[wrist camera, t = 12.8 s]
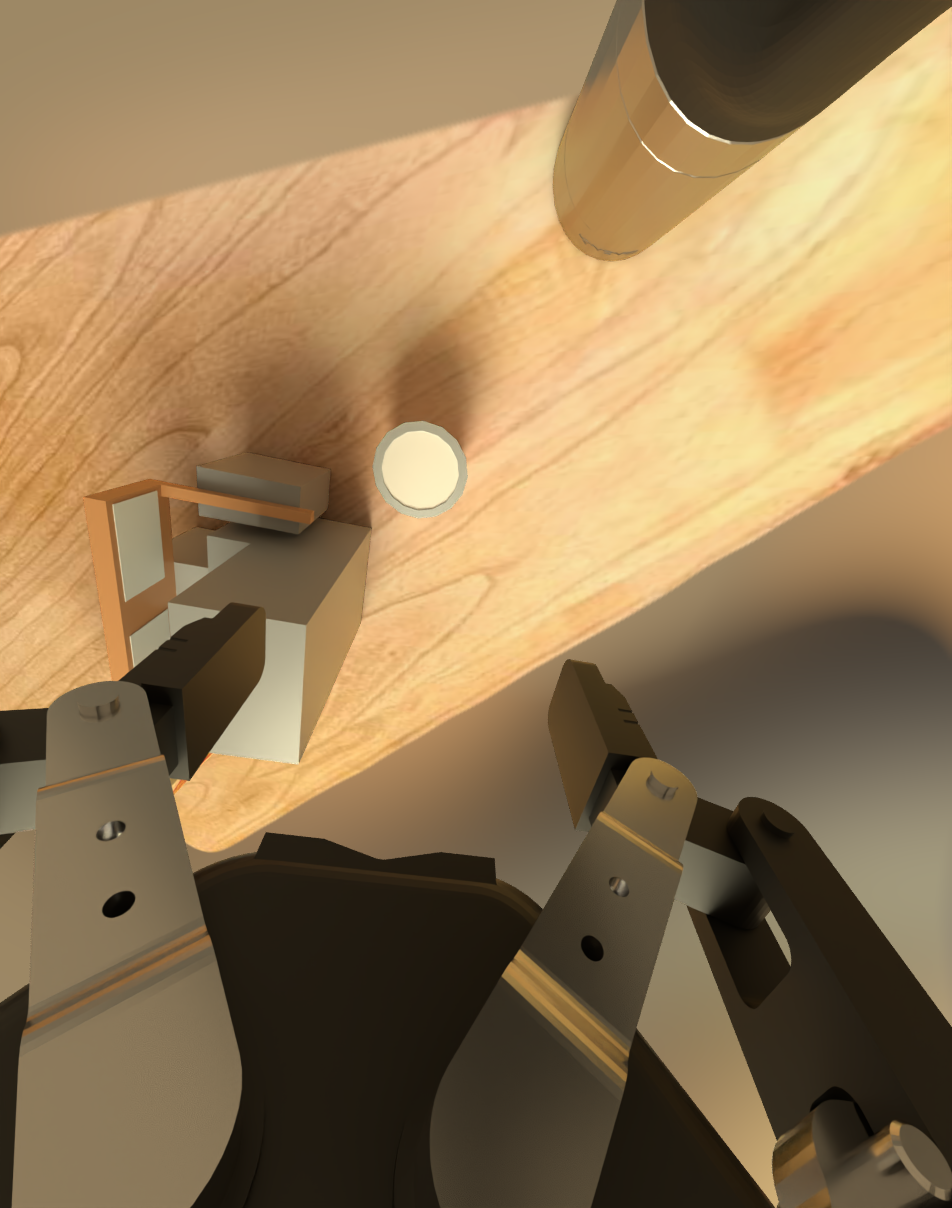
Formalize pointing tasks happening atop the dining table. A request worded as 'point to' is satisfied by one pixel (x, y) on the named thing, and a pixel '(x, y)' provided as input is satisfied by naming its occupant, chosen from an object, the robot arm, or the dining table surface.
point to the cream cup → (420, 469)
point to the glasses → (147, 560)
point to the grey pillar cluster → (276, 594)
